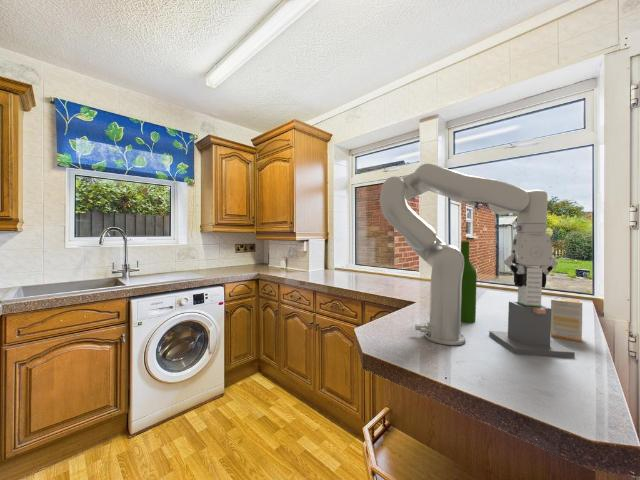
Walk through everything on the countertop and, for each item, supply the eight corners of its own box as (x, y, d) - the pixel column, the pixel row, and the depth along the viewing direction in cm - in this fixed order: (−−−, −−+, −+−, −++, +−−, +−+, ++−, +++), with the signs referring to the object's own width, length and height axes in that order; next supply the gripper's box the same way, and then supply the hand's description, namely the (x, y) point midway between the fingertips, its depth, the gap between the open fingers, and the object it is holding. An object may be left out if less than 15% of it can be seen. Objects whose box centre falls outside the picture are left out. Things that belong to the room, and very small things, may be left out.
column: (524, 326, 89) (526, 264, 88) (515, 321, 94) (516, 263, 94) (542, 327, 88) (544, 265, 88) (532, 322, 93) (533, 263, 93)
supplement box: (581, 338, 98) (582, 300, 98) (581, 342, 95) (583, 303, 94) (550, 332, 104) (551, 296, 103) (549, 336, 100) (550, 299, 100)
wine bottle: (479, 321, 117) (482, 241, 116) (467, 324, 112) (469, 241, 111) (459, 315, 124) (461, 241, 124) (446, 318, 120) (448, 241, 119)
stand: (515, 354, 84) (516, 310, 84) (489, 335, 100) (490, 298, 100) (574, 357, 82) (576, 312, 82) (538, 337, 98) (539, 300, 98)
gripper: (508, 229, 88) (507, 287, 88) (569, 230, 86) (567, 289, 86) (496, 229, 95) (495, 283, 95) (552, 230, 93) (550, 285, 94)
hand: (529, 285), depth 91 cm, fingers open, 6 cm apart
